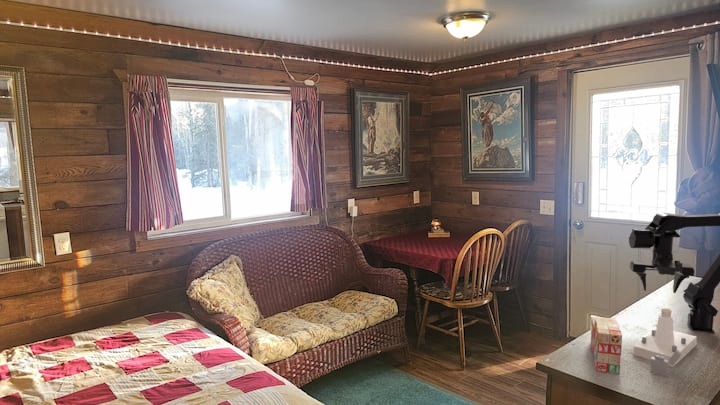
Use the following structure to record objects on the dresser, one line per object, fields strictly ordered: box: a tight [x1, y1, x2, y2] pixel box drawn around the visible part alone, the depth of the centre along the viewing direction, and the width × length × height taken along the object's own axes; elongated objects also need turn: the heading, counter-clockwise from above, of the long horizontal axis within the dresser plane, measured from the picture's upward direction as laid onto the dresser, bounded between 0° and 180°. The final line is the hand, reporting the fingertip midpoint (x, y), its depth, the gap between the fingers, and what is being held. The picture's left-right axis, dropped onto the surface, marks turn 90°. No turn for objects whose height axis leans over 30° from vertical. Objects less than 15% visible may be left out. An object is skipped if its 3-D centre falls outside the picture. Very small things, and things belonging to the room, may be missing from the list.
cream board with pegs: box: [632, 329, 697, 368], centre depth 153 cm, size 22×11×5 cm, turn 130°
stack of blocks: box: [590, 316, 623, 375], centre depth 149 cm, size 21×6×12 cm, turn 159°
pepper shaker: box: [654, 308, 675, 346], centre depth 151 cm, size 5×5×11 cm
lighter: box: [650, 350, 682, 377], centre depth 137 cm, size 7×2×8 cm, turn 53°
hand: (659, 291), depth 170 cm, fingers open, 9 cm apart
